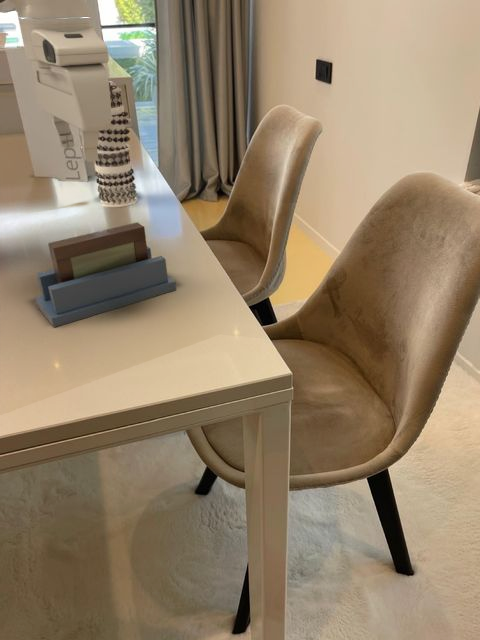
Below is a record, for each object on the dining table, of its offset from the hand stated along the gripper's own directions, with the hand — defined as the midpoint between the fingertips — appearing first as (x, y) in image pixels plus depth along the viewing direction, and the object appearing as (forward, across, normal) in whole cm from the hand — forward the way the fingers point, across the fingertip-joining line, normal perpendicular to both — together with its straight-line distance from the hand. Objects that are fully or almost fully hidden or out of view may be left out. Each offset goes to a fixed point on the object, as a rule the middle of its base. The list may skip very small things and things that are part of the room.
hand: (78, 153), depth 80 cm
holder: (+21, +4, 0) cm, 22 cm away
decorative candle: (+22, -40, +20) cm, 50 cm away
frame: (+20, +4, 0) cm, 20 cm away
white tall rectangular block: (+22, -67, +17) cm, 72 cm away
